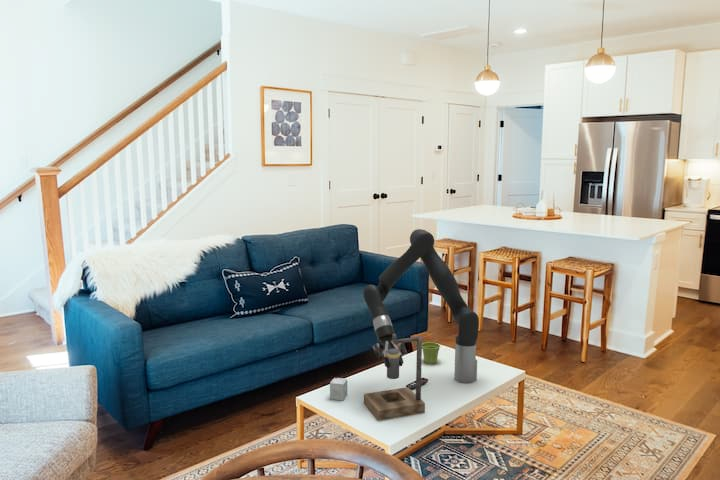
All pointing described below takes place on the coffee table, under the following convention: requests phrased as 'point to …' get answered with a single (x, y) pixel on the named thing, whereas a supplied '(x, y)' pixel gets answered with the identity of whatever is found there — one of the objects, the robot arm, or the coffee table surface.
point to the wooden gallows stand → (398, 393)
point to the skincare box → (338, 389)
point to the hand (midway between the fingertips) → (394, 366)
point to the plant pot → (430, 352)
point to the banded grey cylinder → (393, 363)
